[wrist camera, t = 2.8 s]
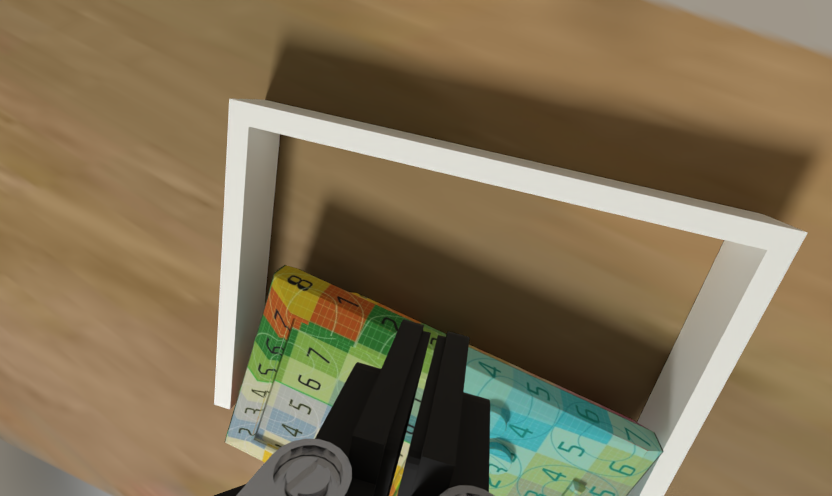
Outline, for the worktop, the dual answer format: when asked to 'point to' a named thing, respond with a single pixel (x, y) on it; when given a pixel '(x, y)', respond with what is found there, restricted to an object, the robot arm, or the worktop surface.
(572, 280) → the worktop surface
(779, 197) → the worktop surface
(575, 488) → the puzzle game
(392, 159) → the frame
